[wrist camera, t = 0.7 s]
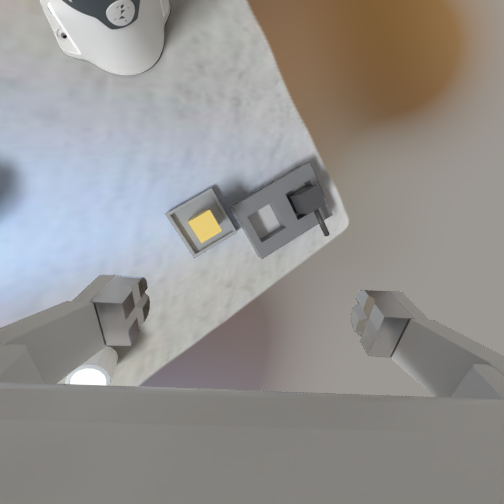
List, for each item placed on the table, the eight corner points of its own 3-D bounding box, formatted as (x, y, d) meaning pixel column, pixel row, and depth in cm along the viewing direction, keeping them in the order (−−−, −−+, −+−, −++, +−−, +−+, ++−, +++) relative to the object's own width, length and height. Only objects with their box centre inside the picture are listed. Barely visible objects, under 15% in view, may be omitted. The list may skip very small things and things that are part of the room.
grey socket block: (230, 207, 48) (237, 206, 41) (301, 165, 50) (320, 157, 43) (261, 263, 52) (273, 271, 45) (327, 222, 54) (347, 223, 47)
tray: (165, 213, 45) (165, 214, 44) (210, 188, 46) (211, 187, 45) (194, 256, 48) (194, 258, 47) (235, 231, 49) (237, 232, 48)
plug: (187, 219, 46) (187, 222, 37) (206, 209, 46) (209, 209, 38) (199, 237, 47) (201, 243, 38) (216, 227, 48) (222, 231, 39)
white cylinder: (126, 346, 48) (115, 369, 41) (114, 376, 48) (102, 403, 42) (89, 338, 46) (72, 361, 39) (77, 370, 46) (58, 397, 39)
